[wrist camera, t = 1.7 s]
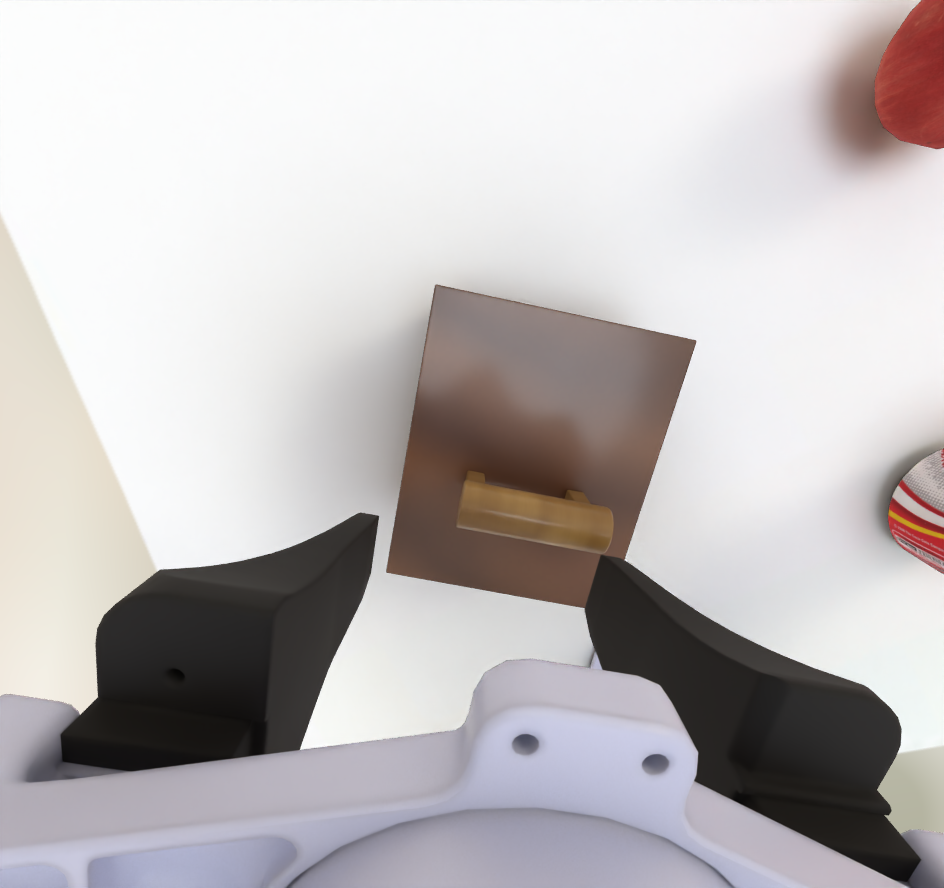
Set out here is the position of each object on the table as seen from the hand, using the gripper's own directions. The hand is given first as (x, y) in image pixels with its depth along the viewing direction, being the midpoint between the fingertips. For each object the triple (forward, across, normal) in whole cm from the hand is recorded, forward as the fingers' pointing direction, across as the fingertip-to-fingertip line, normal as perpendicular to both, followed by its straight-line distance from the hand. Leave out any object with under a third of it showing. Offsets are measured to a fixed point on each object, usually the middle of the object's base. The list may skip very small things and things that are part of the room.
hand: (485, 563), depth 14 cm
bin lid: (+5, -1, -2) cm, 5 cm away
